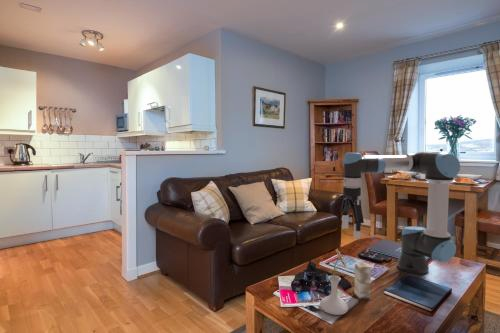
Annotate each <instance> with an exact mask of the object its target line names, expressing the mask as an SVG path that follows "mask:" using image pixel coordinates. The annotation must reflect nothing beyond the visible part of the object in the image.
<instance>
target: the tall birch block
mask: <svg viewBox="0 0 500 333" xmlns="http://www.w3.org/2000/svg"><path fill="white" fill-rule="evenodd" d="M371 274H372V266H370V264H368V263H367V262H365V261H362V262H354V288H353V292H354V293H353V294H354V296H355V297H356V298H357V299H358V301H365V300H366V301H367V300H368V301H369V300H371V283H372V282H371V280H372V279H371V277H372V275H371Z"/></svg>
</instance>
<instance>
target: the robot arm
mask: <svg viewBox="0 0 500 333" xmlns="http://www.w3.org/2000/svg"><path fill="white" fill-rule="evenodd" d="M342 167H343V179H342V182H343V183H342V185H343V187H342V189H343V190H342V191H343V192H342V194H343V198H342V203H341V207H340V213H341V214H342V218H341V220H342V222H341V225H342V226H341V228H342V230H345V229H346V230H349V216H350V214H349V213H350V210H351V213H352V216H353V219H354V221H353V239H361V235H362V230H361V229H362V224H364V223H365V221H364V215H363V209H362V200H361V199H358V197H361V194H362V188H361V187H362V174H380V173H383V172H384V171H399V170H400V171H402V172H411V173H418V174H421V175H424V176H425V177H424V179H425V180H426V181H427V182H428V185H427V186H428V191H427V193H428V194H427V212H426V213H427V215H426V217H427V218H426V227H423V226H422V227H421V226H405V227H403V228H402V231H401V245H400V246H401V248H400V249H401V250H400V255H399V257H398V259H397V262H396V264H397V265H396V266H397V268H398V269H400V270H402V271H404V272H406V273H410V274H415V275H424V274H428V272H429V271H430V269H429V264H428V261H427V260H428V259H427V258H429V259H431V260H433V261H437V262H438V263H447V262H450V261H451V260H452V259H453V258H454V257H455V255H456V253H457V245H456V243H455V242H454V241H452V239H451V237H452V235H451V234H450V232H448V219H449V218H448V217H449V198H450V184H451V183H452V182H453V181H454V177H456V176H457V175H458V174H459V172H460V171H461V163H460V160H459V158H458V157H457V156H456V155H455V154H453V153H451V152H446V151H419V152H413V153H411V152H408V153H402V154H401V155H397V154H396V155H363V154H362V153H361V152H346V153H345V154H344V156H343V160H342Z"/></svg>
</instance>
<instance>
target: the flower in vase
mask: <svg viewBox="0 0 500 333" xmlns="http://www.w3.org/2000/svg"><path fill="white" fill-rule="evenodd" d="M335 252H336V253H337V260H336V261H335V263H334V264H333V273H332V274H331V275H328V277H327V278H328V280H329V281H330V285H331V290H330V291H331V292H330V294H329V295H327V296H325V297H323V298H322V299H321V300H320V302H319V306H320V308H321V310H322V311H324V312H326V313H327V314H330V315H335V316H341V315H345V314H346V313H348V311H349V306H348V304H347V303H346V301H345V300H343V298H341V296H339V295H338V285H339V283H340V281H341V280H342V278H341V277H340V276H339V275H335V274H338V272H337V271H338V269H337V266H336V265H337V262H338V261H340V262H341V264H342V265H343V267H345V268H346V267H347V264H346V262H345V260H343V256H341V252H340V251H339V249H338V248H336V249H335Z"/></svg>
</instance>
